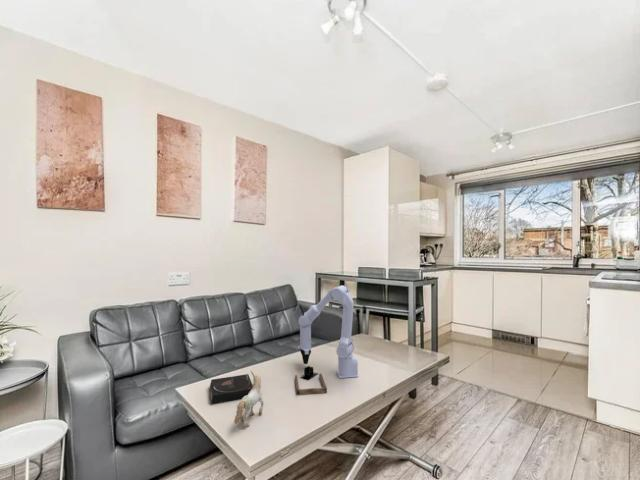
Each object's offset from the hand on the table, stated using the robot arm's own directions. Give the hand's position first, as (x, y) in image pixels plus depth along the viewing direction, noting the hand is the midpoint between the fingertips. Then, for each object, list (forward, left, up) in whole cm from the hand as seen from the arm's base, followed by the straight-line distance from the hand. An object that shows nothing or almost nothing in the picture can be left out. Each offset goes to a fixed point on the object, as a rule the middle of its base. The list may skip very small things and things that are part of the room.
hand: (305, 363), depth 158 cm
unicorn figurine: (+27, +44, -2) cm, 51 cm away
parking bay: (0, +22, -2) cm, 22 cm away
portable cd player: (+35, +23, -3) cm, 42 cm away
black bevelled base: (-1, +10, -3) cm, 11 cm away
